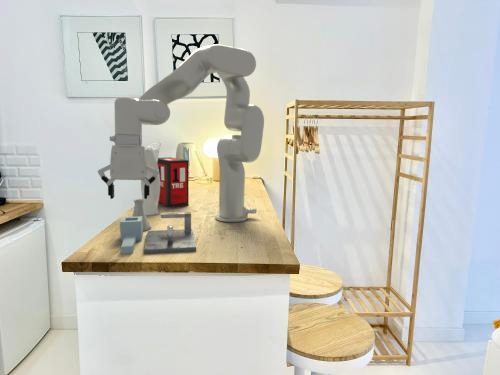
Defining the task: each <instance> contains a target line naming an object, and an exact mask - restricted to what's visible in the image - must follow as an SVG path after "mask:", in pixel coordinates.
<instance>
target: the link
mask: <svg viewBox="0 0 500 375" xmlns="http://www.w3.org/2000/svg"><path fill="white" fill-rule="evenodd" d="M119 232H120V242H122V244H121V246H120V254H122V255H123V254H124V255H126V254H133V253H134V250H135V247H136V244H137V241H143V236H144V231H143V219H142V216H140V217H132V216H122V217H121V219H120V220H119Z"/></svg>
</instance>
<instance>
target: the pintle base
mask: <svg viewBox="0 0 500 375" xmlns="http://www.w3.org/2000/svg"><path fill="white" fill-rule="evenodd" d="M160 213H161V214H160V218H161V219H178V218H179V219H181V218H183V219H184V227H183V229H174V225H167V229H166V230H163V229H162V230H161V229H160V230H147V232H146V238H145V244H144V248H143V254H144V255H147V254H166V253H167V254H168V253H187V252H189V253H190V252H197V244H196V240H195V236H194V231H193V228H192V212H191V211H184V212H183V211H180V212H179V211H178V212H177V211H176V212H175V211H174V212H172V211H171V212H160Z"/></svg>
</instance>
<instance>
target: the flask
mask: <svg viewBox="0 0 500 375" xmlns="http://www.w3.org/2000/svg"><path fill="white" fill-rule="evenodd" d="M133 202H134V208H133V213H132V216H131V217H140V216H142V219H143V232H144V231H149V230H150V229H152V226H151V224H150V221H149V219H148V217H147V216H148V215H146V214H145V211H144V206H143V202H144V200H143V199H142V198H137V199H133Z"/></svg>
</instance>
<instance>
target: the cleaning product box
mask: <svg viewBox="0 0 500 375" xmlns="http://www.w3.org/2000/svg"><path fill="white" fill-rule="evenodd" d="M157 165H158V169H159V174H160V194H159V202H158V205H161V206H163V207H165V208H169V209H173V208H181V207H188V206H189V205H190V204H189V202H190V201H189V200H190V199H189V198H190V195H189V160H188V159H184V158H183V159H182V158H176V157H166V156H165V157H158V161H157Z"/></svg>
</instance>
